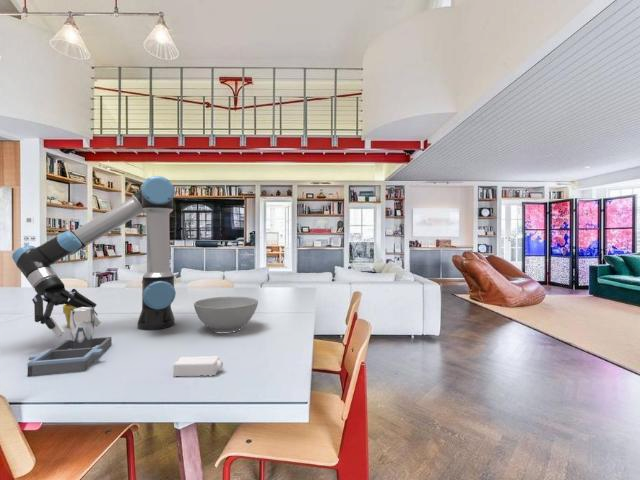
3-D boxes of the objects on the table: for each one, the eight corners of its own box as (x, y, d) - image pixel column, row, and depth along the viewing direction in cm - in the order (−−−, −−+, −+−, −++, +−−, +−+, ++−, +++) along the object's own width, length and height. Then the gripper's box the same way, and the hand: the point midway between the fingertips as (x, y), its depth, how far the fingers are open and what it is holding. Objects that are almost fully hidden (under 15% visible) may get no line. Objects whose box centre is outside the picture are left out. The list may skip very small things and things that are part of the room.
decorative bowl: (269, 325, 149) (269, 299, 149) (230, 342, 125) (231, 310, 125) (223, 319, 160) (223, 294, 160) (179, 333, 136) (179, 304, 136)
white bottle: (219, 377, 93) (219, 363, 93) (173, 378, 92) (173, 363, 92) (224, 368, 100) (224, 355, 100) (181, 369, 99) (181, 355, 99)
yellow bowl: (96, 325, 147) (96, 303, 147) (68, 330, 138) (69, 307, 138) (85, 322, 152) (85, 301, 152) (58, 327, 144) (58, 304, 144)
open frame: (117, 344, 121) (117, 334, 121) (93, 370, 97) (93, 357, 97) (59, 348, 115) (59, 338, 115) (18, 377, 91) (18, 363, 91)
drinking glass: (67, 357, 107) (67, 311, 107) (71, 351, 113) (72, 307, 113) (92, 354, 110) (93, 309, 110) (95, 348, 116) (96, 306, 116)
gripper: (74, 285, 127) (105, 327, 124) (-1, 296, 103) (35, 347, 100) (85, 272, 126) (117, 314, 123) (12, 280, 102) (49, 331, 99)
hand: (81, 329), depth 111 cm, fingers open, 13 cm apart
